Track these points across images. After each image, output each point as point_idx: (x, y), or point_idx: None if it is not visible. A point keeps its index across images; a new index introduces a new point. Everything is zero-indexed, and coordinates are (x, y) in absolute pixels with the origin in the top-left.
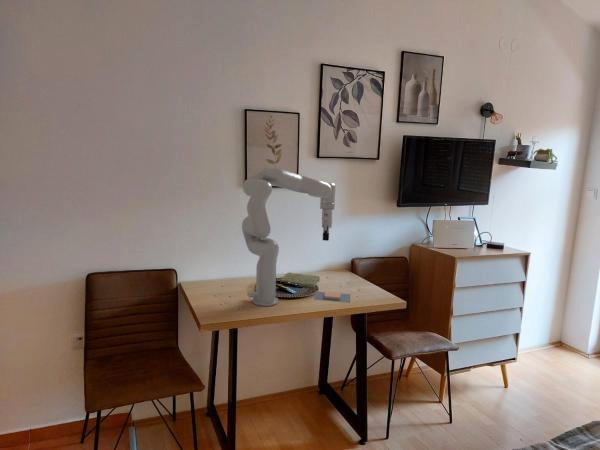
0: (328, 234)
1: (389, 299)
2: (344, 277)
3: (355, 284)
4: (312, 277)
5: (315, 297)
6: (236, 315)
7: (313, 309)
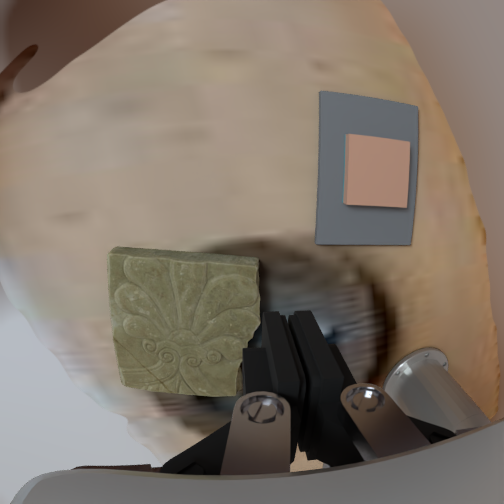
0: (334, 367)
1: None
2: (48, 138)
3: (140, 73)
4: (155, 284)
5: (389, 240)
6: (479, 393)
7: (469, 236)
